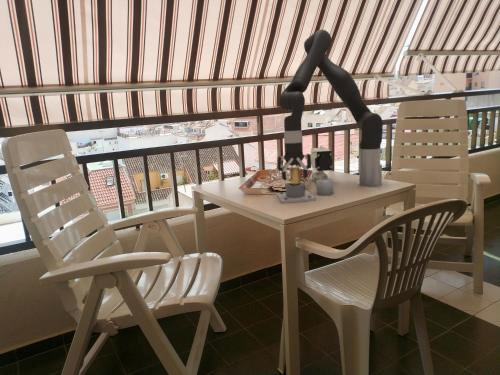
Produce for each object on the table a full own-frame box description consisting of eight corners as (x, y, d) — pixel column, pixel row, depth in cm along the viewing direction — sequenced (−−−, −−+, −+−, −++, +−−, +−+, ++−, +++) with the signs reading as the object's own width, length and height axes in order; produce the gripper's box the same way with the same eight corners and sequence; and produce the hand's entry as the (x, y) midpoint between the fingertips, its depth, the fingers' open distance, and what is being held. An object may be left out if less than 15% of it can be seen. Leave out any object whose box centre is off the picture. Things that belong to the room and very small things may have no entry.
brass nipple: (298, 194, 165) (298, 166, 162) (300, 196, 161) (300, 168, 158) (290, 194, 165) (289, 167, 162) (292, 196, 161) (291, 169, 158)
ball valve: (308, 178, 200) (307, 144, 196) (324, 176, 201) (324, 143, 197) (315, 185, 183) (315, 148, 179) (333, 184, 183) (332, 147, 179)
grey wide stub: (330, 191, 171) (330, 178, 169) (335, 194, 164) (335, 181, 162) (314, 192, 170) (314, 179, 169) (319, 196, 163) (318, 182, 162)
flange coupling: (307, 192, 170) (306, 179, 169) (315, 200, 157) (315, 186, 155) (276, 195, 169) (275, 182, 168) (282, 203, 156) (281, 189, 154)
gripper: (307, 139, 162) (308, 176, 165) (275, 141, 161) (276, 178, 164) (312, 140, 154) (313, 179, 158) (277, 143, 153) (279, 182, 157)
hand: (294, 179), depth 161 cm, fingers open, 8 cm apart
